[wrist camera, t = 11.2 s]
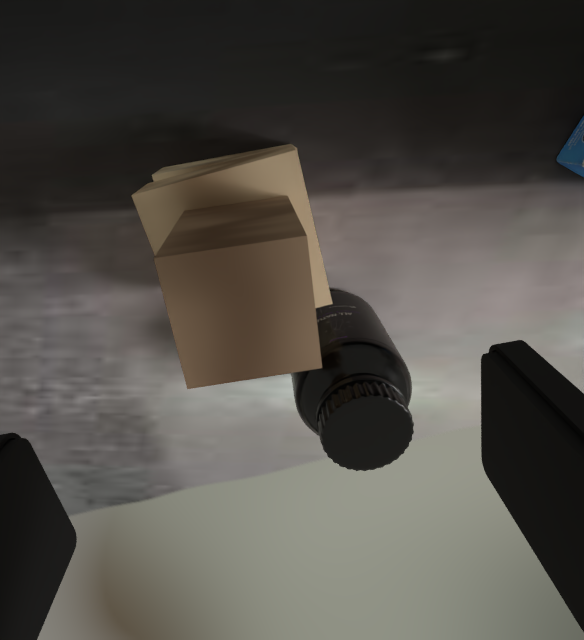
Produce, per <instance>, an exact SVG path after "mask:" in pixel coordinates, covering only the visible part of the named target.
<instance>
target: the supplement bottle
mask: <svg viewBox="0 0 584 640" xmlns="http://www.w3.org/2000/svg"><path fill="white" fill-rule="evenodd" d="M330 294H331V299H332V303H333V304H330V305H326V306H322V307H319V308H315V309H316V318H317V326H318V335H319V344H320V352H321V361H322V368H320V369H313V370H307V371H300V372H294V373H291V376H292V383H293V390H294V397H295V403H296V407H297V410H298V413H299V415H300V417H301V418H302V420H303V421H304V423H305V424H306V425H307V426H308V427H309V428H310V429H311V430H312V431H313V432H314V433H316V434H317V435H319V436H320V440H321V443H322V445H323V449H324V451H325V452H326V453H327V455H328V457H329V458H331V459H332V460H333V462H334V463H337V464H339V465H340V466H341V467H346V468H347V469H353V470H356V471H358V470H363V471H366V470H374V469H376V468H381V467H383V466H384V465H387V464H390V463H392V461H394V460H396V459H398V458H399V456H400V455H401V454H403V453H404V451H405V449H406V448H407V447H408V446H409V442H410V441H411V440H412V434H413V433H414V431H413V426H414V423H413V421H412V415H411V413H410V411H409V409H408V405H409V402H410V399H411V393H412V382H411V377H410V373H409V371H408V368H407V366H406V364H405V362H404V360H403V359H402V357H401V355H400V354H399V352H398V350H397V349H396V347H395V345H394V343H393V342H392V340H391V338H390V337H389V335H388V333H387V332H386V330H385V328H384V326H383V325H382V323H381V321H380V320H379V318H378V316H377V315H376V313H375V312H374V310H373V309H372V307H371V306H370V305H369V304H368V303H367V302H366V301H364V300H363V299H362V298H360V297H358V296H356V295H354V294H351V293H348V292H343V291H330Z"/></svg>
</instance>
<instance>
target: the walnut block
mask: <svg viewBox="0 0 584 640" xmlns="http://www.w3.org/2000/svg"><path fill="white" fill-rule="evenodd" d="M154 262H155V266H156V270H157V273H158V277H159V281H160V285H161V289H162V293H163V297H164V300H165V304H166V308H167V312H168V316H169V320H170V324H171V327H172V331H173V335H174V339H175V343H176V347H177V351H178V354H179V358H180V362H181V366H182V370H183V374H184V378H185V381H186V385H187V389H191V388H197V387H204V386H210V385H217V384H223V383H230V382H236V381H242V380H249V379H255V378H262V377H268V376H275V375H281V374H287V373H294V372H300V371H307V370H313V369H320V368H322V361H321V352H320V344H319V335H318V326H317V318H316V309H315V300H314V292H313V283H312V274H311V266H310V257H309V249H308V240H307V235H306V233H305V230H304V228H303V226H302V224H301V222H300V220H299V218H298V216H297V214H296V212H295V210H294V208H293V206H292V204H291V202H290V200H289V197H288V196H282V197H276V198H269V199H262V200H255V201H248V202H241V203H234V204H227V205H220V206H213V207H207V208H200V209H193V210H186V211H184V212H183V213H182V215H181V216H180V218H179V220H178V221H177V223H176V224H175V226H174V227H173V229H172V230H171V232H170V234H169V235H168V237H167V238H166V240H165V241H164V243H163V244H162V246H161V248H160V249H159V251H158V252H157V254H156V255H155V257H154Z"/></svg>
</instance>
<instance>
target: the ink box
mask: <svg viewBox="0 0 584 640" xmlns="http://www.w3.org/2000/svg"><path fill="white" fill-rule="evenodd" d="M556 160H557V162H558V163H559V164H561V165H563V166H565V167H566V168H568V169H570V170H571V171H573V172H575V173H577V174H578V175H580V176H582V177H584V116H583V117H582V119H581V120H580V122H579V124H578V125H577V127H576V128H575V130H574V131H573V133H572V134H571V136H570V138H569V139H568V141H567V142H566V144H565V145H564V147H563V148H562V150H561V152H560V153H559V155H558V156H557V159H556Z"/></svg>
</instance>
